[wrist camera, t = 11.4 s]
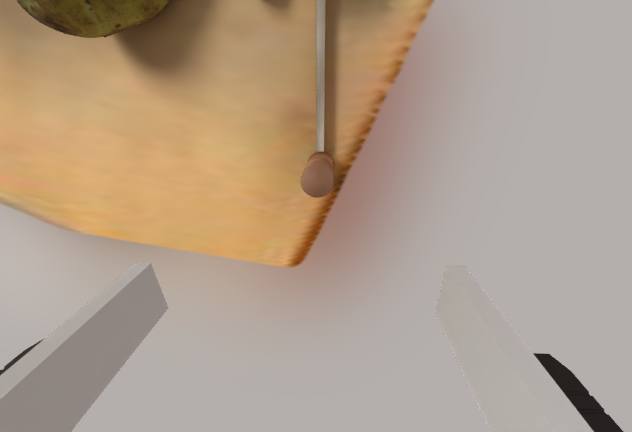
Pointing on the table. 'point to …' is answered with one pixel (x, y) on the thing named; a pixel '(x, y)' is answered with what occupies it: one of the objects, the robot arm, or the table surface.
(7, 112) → the table surface
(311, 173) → the wooden mallet
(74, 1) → the dirty green tuber
